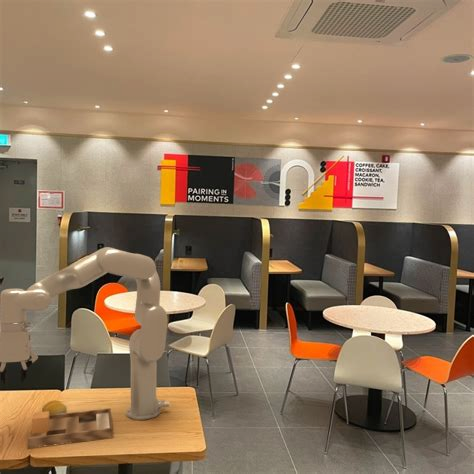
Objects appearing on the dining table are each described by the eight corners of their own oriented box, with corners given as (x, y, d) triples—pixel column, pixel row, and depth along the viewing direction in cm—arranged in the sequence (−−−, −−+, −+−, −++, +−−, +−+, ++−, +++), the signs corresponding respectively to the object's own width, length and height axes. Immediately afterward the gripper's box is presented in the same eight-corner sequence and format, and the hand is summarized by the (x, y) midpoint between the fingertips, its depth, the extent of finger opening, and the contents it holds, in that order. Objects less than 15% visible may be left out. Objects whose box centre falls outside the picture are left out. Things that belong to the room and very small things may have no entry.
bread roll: (47, 419, 170) (47, 409, 170) (39, 411, 177) (39, 401, 176) (70, 413, 175) (70, 403, 175) (61, 406, 182) (61, 396, 182)
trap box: (110, 416, 172) (110, 408, 172) (112, 437, 156) (112, 428, 156) (33, 425, 165) (33, 416, 164) (27, 448, 148) (27, 438, 148)
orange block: (49, 425, 160) (49, 411, 160) (48, 432, 156) (48, 417, 155) (33, 427, 159) (33, 412, 159) (31, 433, 154) (31, 419, 154)
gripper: (42, 322, 159) (43, 375, 160) (-14, 325, 154) (-13, 380, 155) (40, 327, 152) (40, 383, 153) (-18, 331, 147) (-18, 388, 148)
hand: (14, 380), depth 154 cm, fingers open, 4 cm apart
